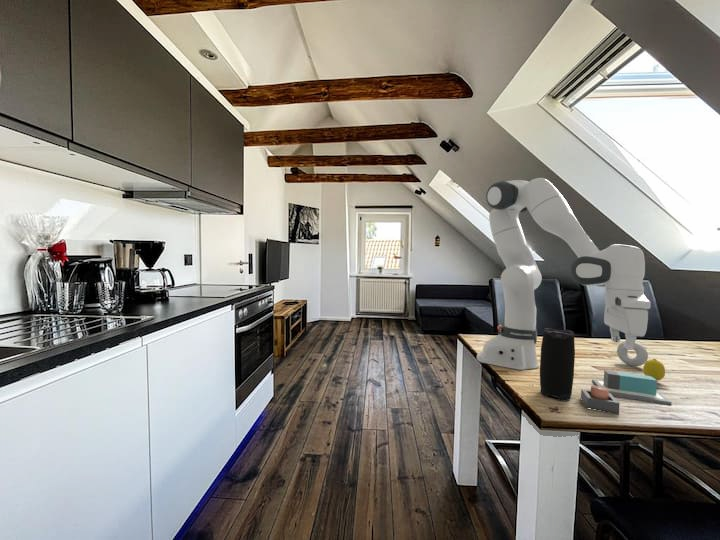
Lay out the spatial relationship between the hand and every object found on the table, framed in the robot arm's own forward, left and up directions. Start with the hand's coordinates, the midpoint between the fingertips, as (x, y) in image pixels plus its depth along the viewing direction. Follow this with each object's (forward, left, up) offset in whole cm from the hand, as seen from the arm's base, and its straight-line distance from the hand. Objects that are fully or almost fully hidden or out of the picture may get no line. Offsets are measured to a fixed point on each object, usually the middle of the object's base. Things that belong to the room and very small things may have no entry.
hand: (621, 345), depth 95 cm
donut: (+16, +42, -16) cm, 48 cm away
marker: (+4, +7, -15) cm, 17 cm away
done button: (-8, -10, -14) cm, 19 cm away
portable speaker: (-18, -7, -16) cm, 25 cm away
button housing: (-8, -10, -16) cm, 20 cm away
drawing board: (+4, +7, -16) cm, 18 cm away
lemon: (+16, +23, -16) cm, 32 cm away
